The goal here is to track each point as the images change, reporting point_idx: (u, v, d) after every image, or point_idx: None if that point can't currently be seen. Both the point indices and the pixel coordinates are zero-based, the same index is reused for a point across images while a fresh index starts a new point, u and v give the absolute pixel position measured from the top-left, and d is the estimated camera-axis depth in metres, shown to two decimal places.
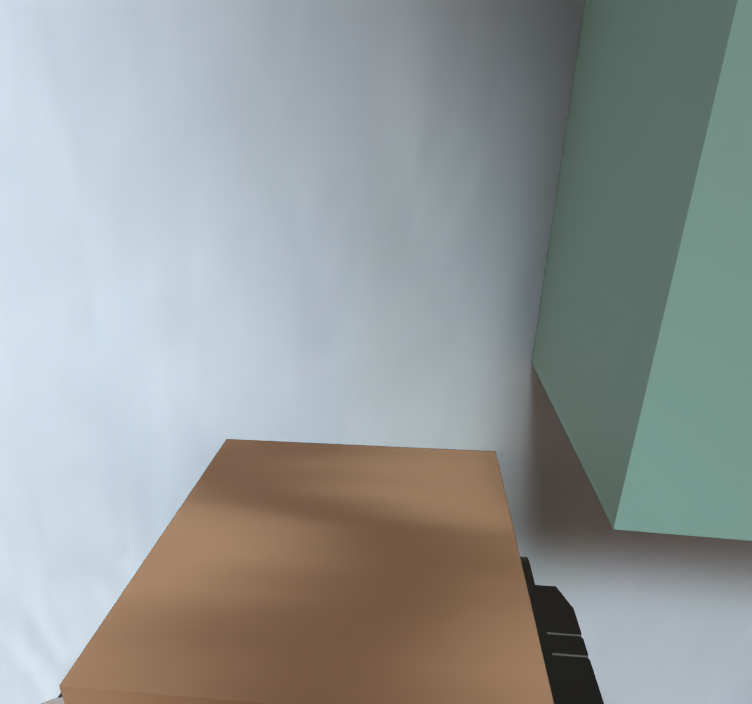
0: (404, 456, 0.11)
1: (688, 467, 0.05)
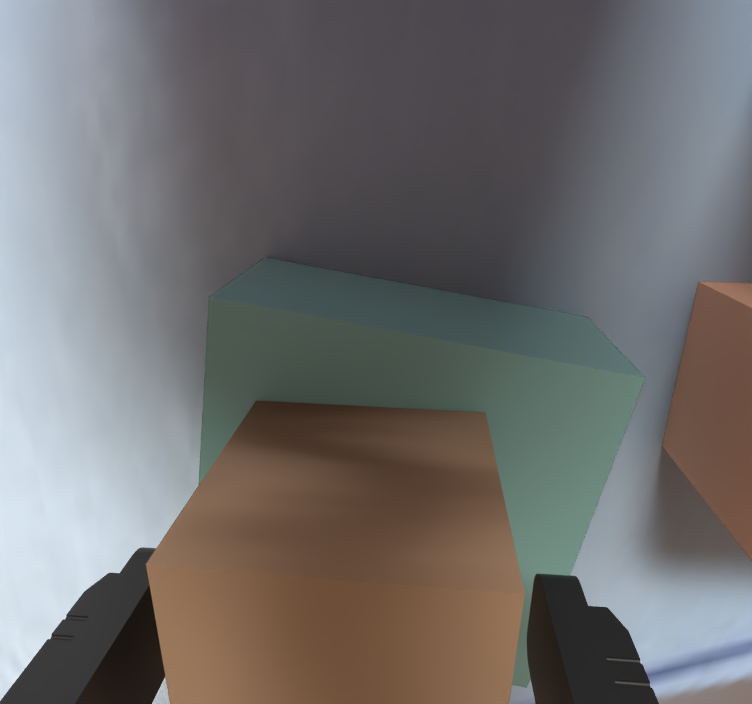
0: (408, 415, 0.13)
1: None
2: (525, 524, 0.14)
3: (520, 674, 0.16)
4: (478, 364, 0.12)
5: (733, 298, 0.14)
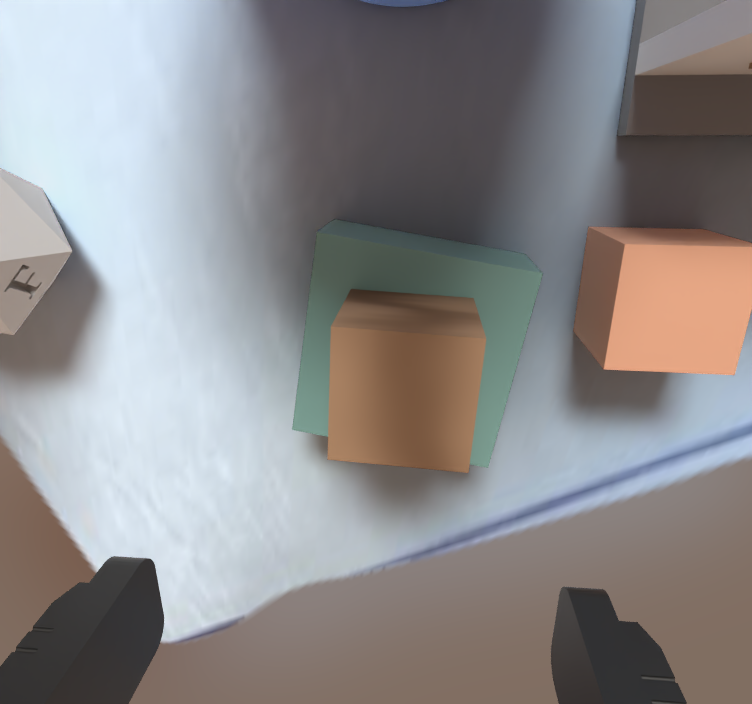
0: (433, 296, 0.24)
1: (305, 417, 0.27)
2: (484, 360, 0.25)
3: (483, 459, 0.27)
4: (456, 267, 0.24)
5: (599, 231, 0.25)
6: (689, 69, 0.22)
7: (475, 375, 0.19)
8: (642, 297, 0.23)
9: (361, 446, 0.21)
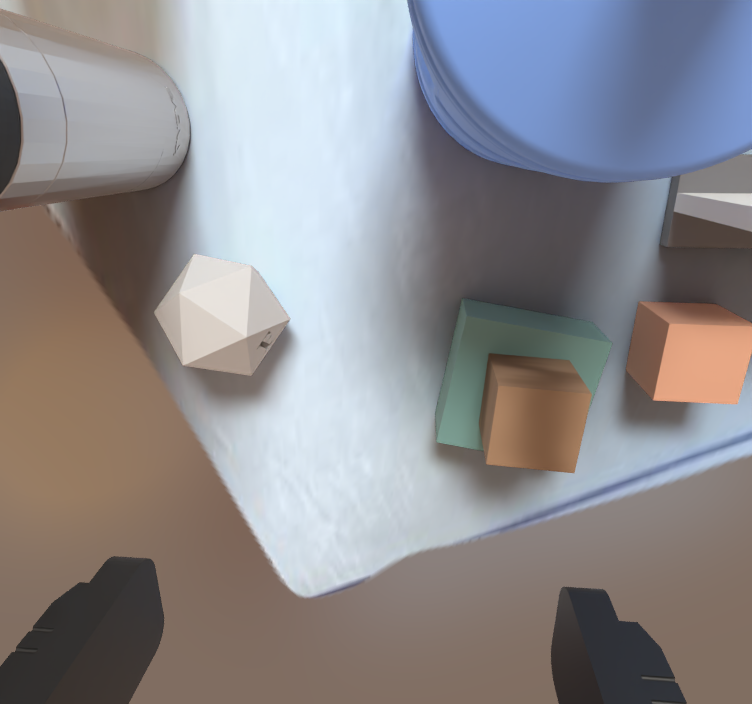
0: (543, 359, 0.37)
1: (446, 434, 0.40)
2: None
3: None
4: (556, 338, 0.37)
5: (648, 308, 0.38)
6: None
7: (583, 415, 0.33)
8: (679, 355, 0.36)
9: (508, 456, 0.34)
